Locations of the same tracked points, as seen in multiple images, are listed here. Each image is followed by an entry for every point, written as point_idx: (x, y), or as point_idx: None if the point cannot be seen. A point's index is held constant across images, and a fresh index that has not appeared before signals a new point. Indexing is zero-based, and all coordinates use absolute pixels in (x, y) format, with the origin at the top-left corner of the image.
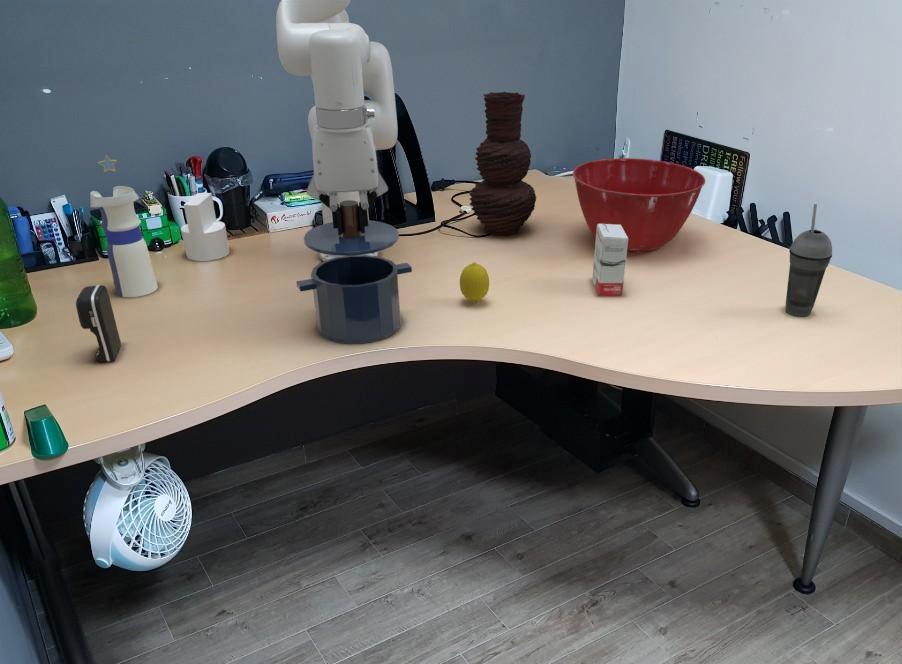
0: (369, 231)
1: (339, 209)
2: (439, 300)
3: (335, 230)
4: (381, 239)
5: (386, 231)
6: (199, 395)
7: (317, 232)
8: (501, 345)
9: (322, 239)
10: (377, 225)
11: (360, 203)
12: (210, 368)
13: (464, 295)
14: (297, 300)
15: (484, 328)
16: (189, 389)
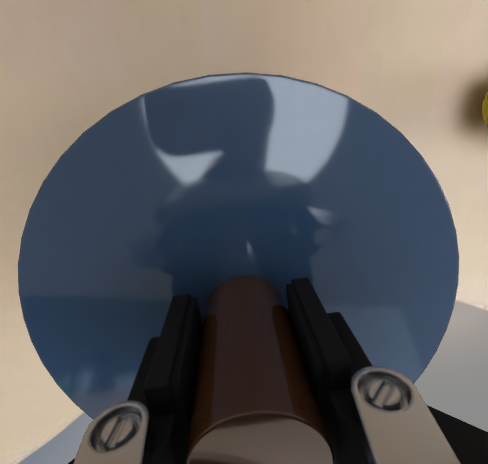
0: (327, 270)
1: (185, 437)
2: (415, 84)
3: (158, 252)
4: (373, 359)
5: (406, 271)
6: (28, 423)
7: (73, 276)
8: (481, 300)
9: (121, 356)
10: (372, 185)
11: (352, 460)
12: (7, 357)
13: (484, 120)
14: (65, 56)
15: (473, 235)
16: (5, 410)
